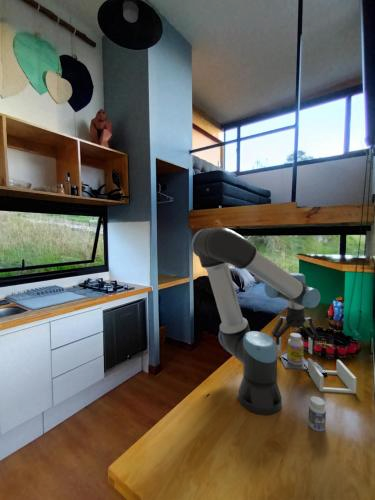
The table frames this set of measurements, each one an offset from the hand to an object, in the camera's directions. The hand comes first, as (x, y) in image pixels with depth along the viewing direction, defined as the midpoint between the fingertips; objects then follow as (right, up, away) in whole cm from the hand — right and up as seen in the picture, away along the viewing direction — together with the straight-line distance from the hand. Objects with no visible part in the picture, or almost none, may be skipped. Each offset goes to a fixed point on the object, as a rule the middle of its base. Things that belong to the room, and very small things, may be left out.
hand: (294, 351), depth 112 cm
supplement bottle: (0, -5, 0) cm, 5 cm away
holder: (+8, -6, -14) cm, 17 cm away
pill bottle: (-9, -9, -36) cm, 38 cm away
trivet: (0, -5, 0) cm, 5 cm away
